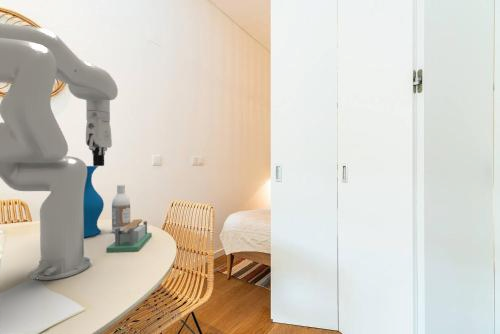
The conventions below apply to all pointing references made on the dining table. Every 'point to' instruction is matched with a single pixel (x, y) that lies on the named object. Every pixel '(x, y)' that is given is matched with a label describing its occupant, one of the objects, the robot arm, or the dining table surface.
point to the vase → (91, 205)
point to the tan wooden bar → (132, 224)
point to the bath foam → (120, 209)
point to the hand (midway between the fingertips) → (98, 165)
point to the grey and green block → (130, 239)
